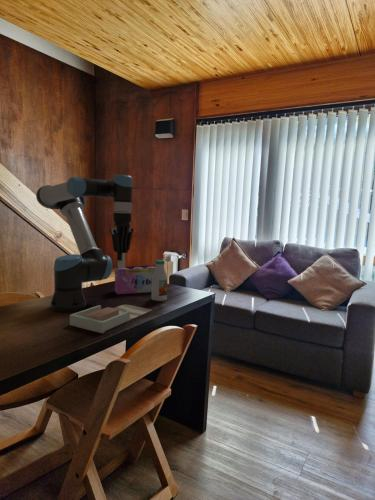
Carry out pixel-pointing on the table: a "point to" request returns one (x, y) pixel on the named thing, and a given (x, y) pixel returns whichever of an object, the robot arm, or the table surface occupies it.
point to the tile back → (110, 311)
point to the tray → (96, 325)
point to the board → (132, 310)
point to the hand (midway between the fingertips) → (121, 267)
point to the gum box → (133, 279)
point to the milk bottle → (159, 282)
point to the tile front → (98, 315)
